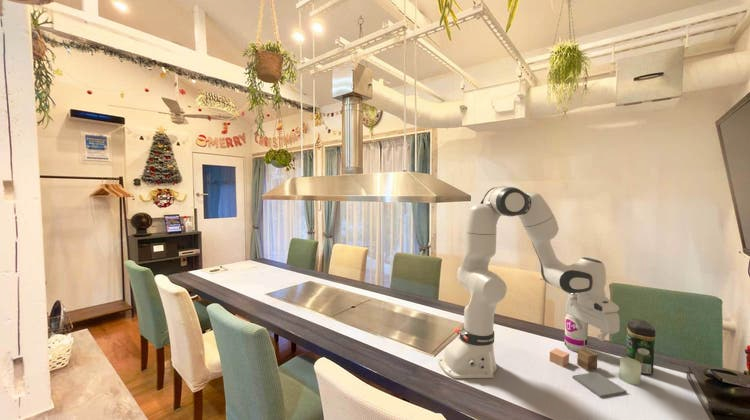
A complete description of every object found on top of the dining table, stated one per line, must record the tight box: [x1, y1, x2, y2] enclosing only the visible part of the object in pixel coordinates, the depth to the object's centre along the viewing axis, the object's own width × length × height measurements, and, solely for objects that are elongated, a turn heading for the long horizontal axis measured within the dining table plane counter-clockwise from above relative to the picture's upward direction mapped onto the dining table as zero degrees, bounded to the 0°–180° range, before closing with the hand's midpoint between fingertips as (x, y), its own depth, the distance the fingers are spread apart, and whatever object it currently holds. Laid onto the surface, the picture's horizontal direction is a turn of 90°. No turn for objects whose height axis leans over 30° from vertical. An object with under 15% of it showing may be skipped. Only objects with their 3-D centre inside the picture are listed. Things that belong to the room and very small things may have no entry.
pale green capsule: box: [618, 356, 642, 386], centre depth 111 cm, size 6×6×7 cm
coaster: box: [572, 371, 627, 398], centre depth 108 cm, size 11×11×1 cm
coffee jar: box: [625, 318, 656, 375], centre depth 117 cm, size 10×8×19 cm
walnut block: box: [576, 348, 599, 372], centre depth 119 cm, size 4×4×6 cm
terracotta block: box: [549, 347, 570, 368], centre depth 122 cm, size 5×5×4 cm
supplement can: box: [563, 313, 589, 353], centre depth 133 cm, size 8×8×15 cm
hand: (589, 334), depth 118 cm, fingers open, 8 cm apart
